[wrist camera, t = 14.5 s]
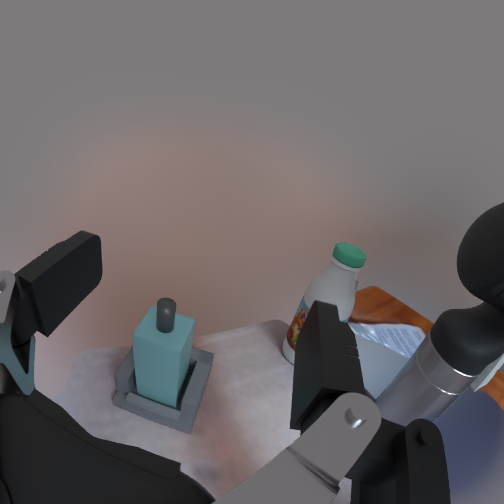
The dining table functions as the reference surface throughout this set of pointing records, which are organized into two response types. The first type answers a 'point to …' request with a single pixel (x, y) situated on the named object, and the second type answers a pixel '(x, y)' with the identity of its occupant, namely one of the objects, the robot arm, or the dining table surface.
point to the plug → (162, 352)
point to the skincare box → (487, 373)
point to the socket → (159, 412)
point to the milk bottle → (329, 291)
